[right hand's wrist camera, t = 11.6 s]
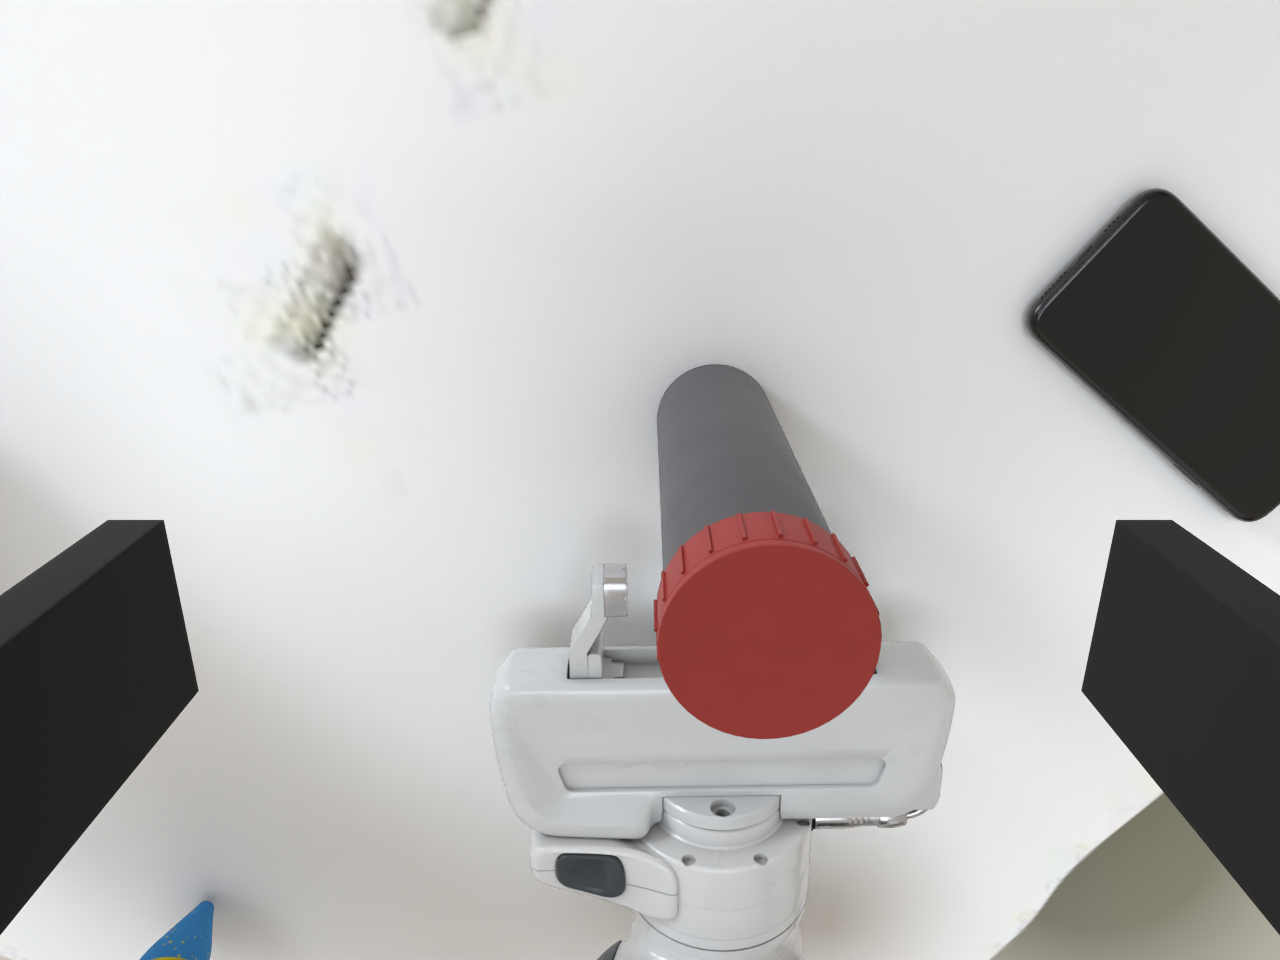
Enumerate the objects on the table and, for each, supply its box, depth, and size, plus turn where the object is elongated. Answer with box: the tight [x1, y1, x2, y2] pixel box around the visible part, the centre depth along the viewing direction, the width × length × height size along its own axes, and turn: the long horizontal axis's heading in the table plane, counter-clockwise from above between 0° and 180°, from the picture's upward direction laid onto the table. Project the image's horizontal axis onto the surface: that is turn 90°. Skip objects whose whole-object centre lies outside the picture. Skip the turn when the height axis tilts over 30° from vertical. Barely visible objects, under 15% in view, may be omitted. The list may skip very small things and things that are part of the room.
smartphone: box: [1027, 189, 1280, 522], centre depth 40 cm, size 8×1×16 cm
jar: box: [657, 365, 832, 571], centre depth 33 cm, size 5×5×20 cm
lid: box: [654, 510, 882, 739], centre depth 24 cm, size 6×6×2 cm
